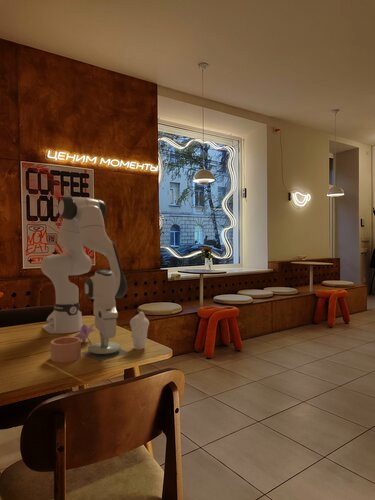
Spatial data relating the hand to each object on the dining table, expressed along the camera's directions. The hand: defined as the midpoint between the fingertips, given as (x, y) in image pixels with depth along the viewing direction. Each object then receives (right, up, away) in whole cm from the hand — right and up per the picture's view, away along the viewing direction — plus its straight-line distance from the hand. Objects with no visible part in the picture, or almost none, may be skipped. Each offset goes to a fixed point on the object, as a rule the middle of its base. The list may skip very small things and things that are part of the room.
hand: (104, 343), depth 146 cm
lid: (0, -2, 0) cm, 2 cm away
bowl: (-14, -4, -6) cm, 16 cm away
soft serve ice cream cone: (+13, -4, +7) cm, 16 cm away
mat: (0, -4, 0) cm, 4 cm away
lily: (-12, -4, +13) cm, 18 cm away
